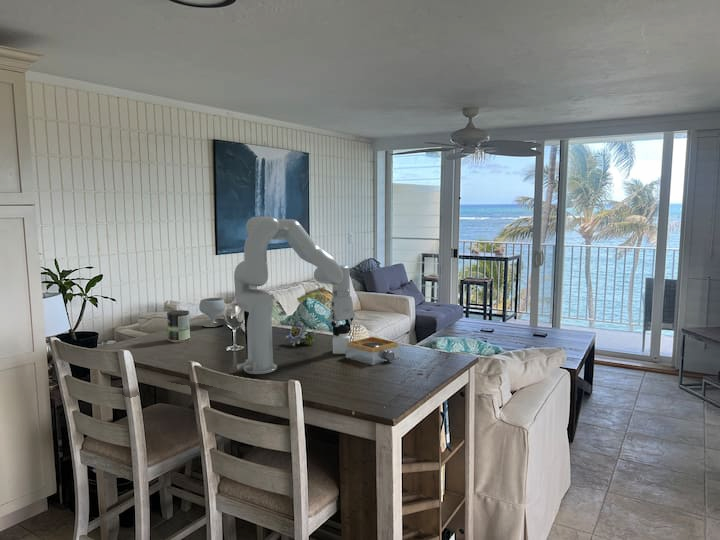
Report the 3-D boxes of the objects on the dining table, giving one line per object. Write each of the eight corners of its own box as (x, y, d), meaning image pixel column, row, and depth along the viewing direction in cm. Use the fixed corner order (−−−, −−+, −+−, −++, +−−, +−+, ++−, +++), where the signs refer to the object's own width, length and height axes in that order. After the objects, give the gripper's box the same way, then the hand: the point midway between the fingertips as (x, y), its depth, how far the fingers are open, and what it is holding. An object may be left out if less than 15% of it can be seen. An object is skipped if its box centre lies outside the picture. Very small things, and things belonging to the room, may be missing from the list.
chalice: (208, 329, 273) (207, 302, 271) (195, 326, 282) (194, 299, 280) (231, 325, 283) (230, 299, 281) (217, 322, 292) (216, 296, 291)
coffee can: (167, 343, 243) (166, 314, 242) (168, 338, 253) (167, 311, 251) (190, 342, 246) (189, 313, 245) (190, 337, 256) (189, 309, 254)
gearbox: (378, 366, 202) (377, 350, 201) (345, 357, 215) (345, 342, 215) (404, 358, 213) (404, 343, 212) (372, 350, 226) (372, 336, 226)
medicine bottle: (350, 349, 228) (350, 323, 226) (349, 354, 220) (348, 327, 219) (335, 349, 228) (334, 323, 227) (332, 353, 221) (332, 326, 220)
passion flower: (294, 357, 237) (279, 336, 237) (306, 347, 247) (292, 327, 247) (310, 346, 231) (294, 325, 232) (321, 336, 241) (306, 316, 241)
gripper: (331, 296, 213) (332, 338, 215) (361, 292, 225) (361, 332, 227) (320, 295, 219) (321, 336, 220) (349, 290, 230) (350, 329, 232)
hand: (341, 333), depth 224 cm, fingers closed on medicine bottle, 6 cm apart
